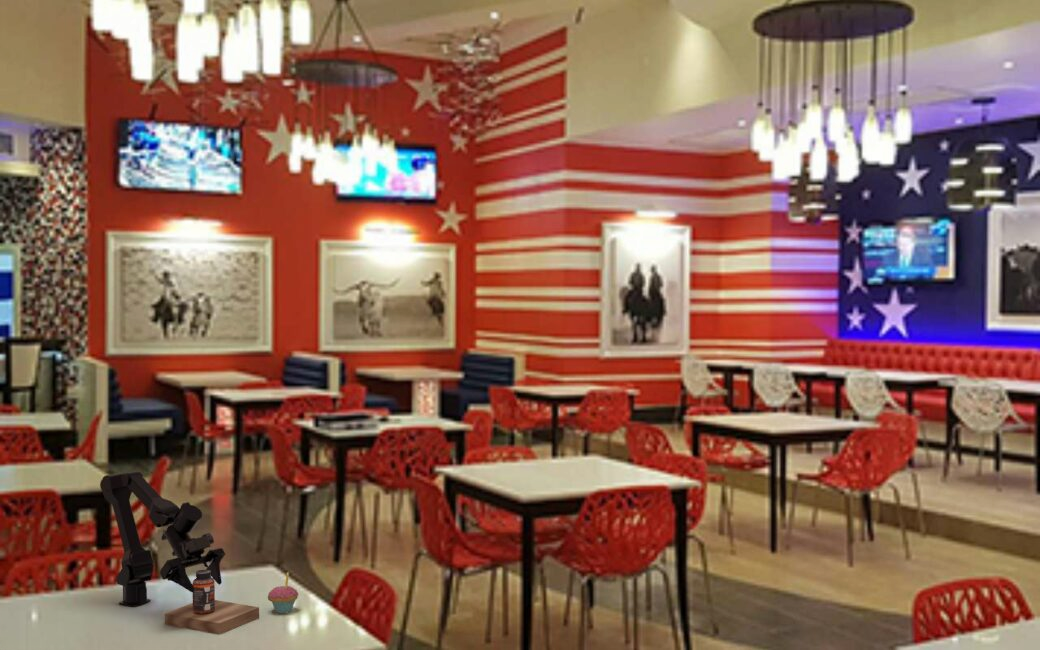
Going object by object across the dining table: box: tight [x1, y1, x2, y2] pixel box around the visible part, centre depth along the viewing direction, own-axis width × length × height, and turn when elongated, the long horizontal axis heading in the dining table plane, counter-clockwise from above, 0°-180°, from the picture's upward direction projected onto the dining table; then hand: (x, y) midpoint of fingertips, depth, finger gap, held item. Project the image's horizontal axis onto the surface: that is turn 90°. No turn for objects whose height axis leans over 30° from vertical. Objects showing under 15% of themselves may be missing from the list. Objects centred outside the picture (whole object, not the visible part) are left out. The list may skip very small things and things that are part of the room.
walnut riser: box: [163, 599, 260, 635], centre depth 300 cm, size 20×16×3 cm
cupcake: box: [267, 570, 299, 614], centre depth 309 cm, size 9×8×12 cm
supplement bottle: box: [191, 569, 216, 614], centre depth 299 cm, size 6×6×11 cm
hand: (207, 587), depth 298 cm, fingers open, 9 cm apart
